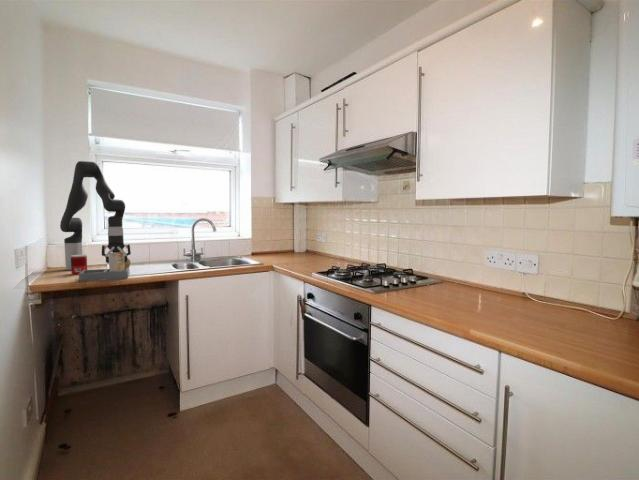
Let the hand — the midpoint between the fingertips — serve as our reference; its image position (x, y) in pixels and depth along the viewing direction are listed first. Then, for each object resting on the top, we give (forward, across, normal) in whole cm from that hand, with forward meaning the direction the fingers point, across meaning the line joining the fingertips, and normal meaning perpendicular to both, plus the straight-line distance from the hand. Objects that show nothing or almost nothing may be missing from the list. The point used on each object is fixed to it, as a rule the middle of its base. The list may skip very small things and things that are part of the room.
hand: (116, 262), depth 201 cm
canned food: (+8, +22, -21) cm, 31 cm away
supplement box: (+7, 0, 0) cm, 7 cm away
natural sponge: (+8, -1, -16) cm, 18 cm away
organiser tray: (+8, +6, 0) cm, 10 cm away
